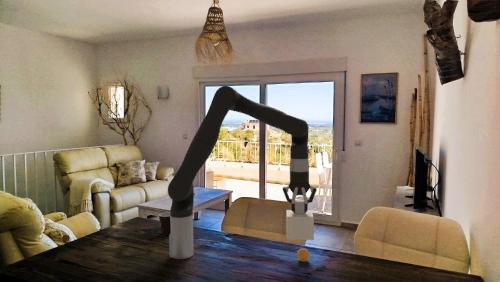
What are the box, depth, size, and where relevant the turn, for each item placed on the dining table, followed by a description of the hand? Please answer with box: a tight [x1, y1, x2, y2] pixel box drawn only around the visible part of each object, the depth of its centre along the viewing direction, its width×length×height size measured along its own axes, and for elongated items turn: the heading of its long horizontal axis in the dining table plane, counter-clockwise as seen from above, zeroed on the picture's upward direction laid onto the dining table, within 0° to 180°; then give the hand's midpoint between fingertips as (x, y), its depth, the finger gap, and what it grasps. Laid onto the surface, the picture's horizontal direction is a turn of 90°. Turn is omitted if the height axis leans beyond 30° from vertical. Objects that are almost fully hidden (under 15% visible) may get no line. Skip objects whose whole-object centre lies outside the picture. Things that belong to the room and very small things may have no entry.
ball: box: [296, 247, 310, 262], centre depth 135 cm, size 5×5×5 cm
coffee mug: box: [158, 211, 171, 236], centre depth 171 cm, size 12×9×10 cm
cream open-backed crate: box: [285, 199, 315, 241], centre depth 134 cm, size 10×10×14 cm
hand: (299, 212), depth 134 cm, fingers closed on cream open-backed crate, 3 cm apart
